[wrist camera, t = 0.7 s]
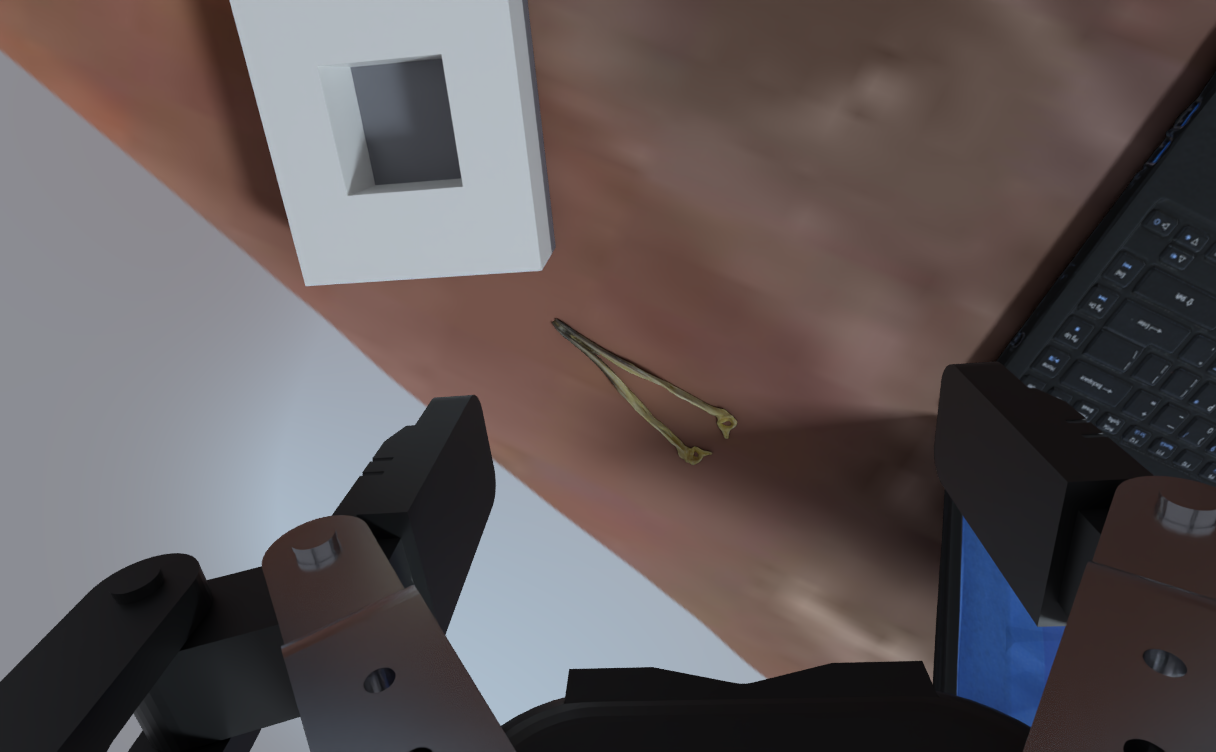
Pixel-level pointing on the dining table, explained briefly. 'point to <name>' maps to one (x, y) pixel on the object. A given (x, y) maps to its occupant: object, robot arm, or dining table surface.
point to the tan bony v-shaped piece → (683, 450)
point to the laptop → (1102, 392)
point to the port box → (402, 135)
